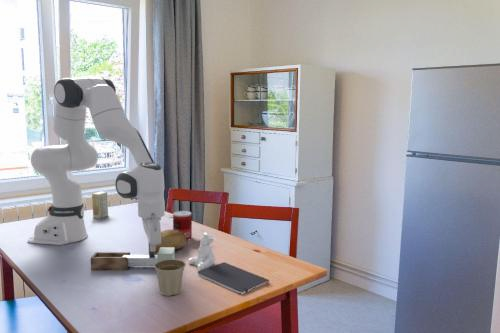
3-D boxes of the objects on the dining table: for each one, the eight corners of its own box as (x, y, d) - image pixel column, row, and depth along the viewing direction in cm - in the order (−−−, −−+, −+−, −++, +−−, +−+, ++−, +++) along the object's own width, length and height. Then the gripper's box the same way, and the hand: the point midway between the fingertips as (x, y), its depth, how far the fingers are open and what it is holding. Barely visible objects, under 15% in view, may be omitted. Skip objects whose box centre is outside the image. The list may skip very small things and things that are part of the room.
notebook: (269, 284, 138) (223, 266, 152) (269, 279, 138) (224, 262, 152) (241, 296, 129) (196, 276, 143) (241, 291, 128) (196, 271, 143)
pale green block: (157, 271, 145) (157, 253, 145) (160, 263, 152) (160, 247, 151) (172, 271, 146) (172, 253, 145) (174, 263, 152) (174, 247, 151)
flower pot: (156, 285, 134) (156, 259, 133) (186, 284, 135) (186, 258, 134) (152, 298, 125) (151, 270, 124) (184, 298, 126) (184, 270, 125)
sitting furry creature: (187, 263, 153) (186, 231, 151) (208, 258, 158) (208, 227, 156) (198, 272, 145) (198, 238, 144) (220, 267, 150) (221, 234, 148)
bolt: (121, 266, 146) (121, 241, 145) (124, 263, 149) (123, 238, 148) (168, 266, 147) (168, 241, 146) (170, 263, 150) (169, 238, 149)
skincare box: (101, 214, 215) (100, 190, 213) (108, 215, 213) (107, 191, 211) (92, 217, 209) (91, 193, 207) (99, 218, 207) (98, 194, 205)
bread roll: (193, 248, 169) (193, 228, 168) (162, 258, 158) (162, 237, 157) (177, 242, 175) (177, 223, 174) (147, 251, 164) (146, 231, 163)
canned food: (193, 235, 184) (193, 211, 182) (189, 241, 176) (189, 216, 175) (176, 235, 185) (176, 210, 183) (171, 240, 177) (170, 215, 175)
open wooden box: (91, 270, 145) (90, 257, 144) (96, 264, 150) (95, 252, 150) (126, 270, 146) (126, 257, 145) (130, 264, 151) (130, 252, 150)
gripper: (165, 217, 137) (165, 258, 139) (156, 203, 156) (157, 239, 158) (145, 219, 135) (146, 260, 137) (139, 204, 154) (139, 241, 156)
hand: (152, 249), depth 148 cm, fingers closed on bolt, 2 cm apart
